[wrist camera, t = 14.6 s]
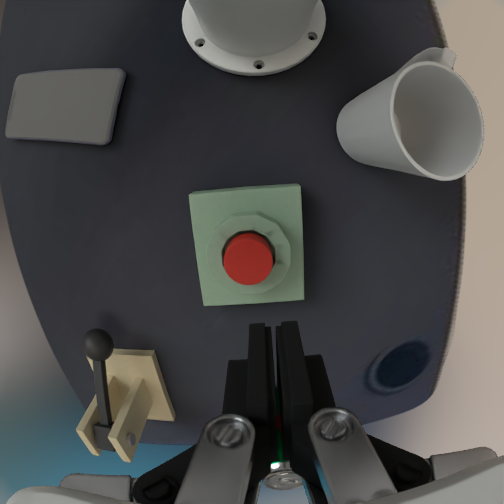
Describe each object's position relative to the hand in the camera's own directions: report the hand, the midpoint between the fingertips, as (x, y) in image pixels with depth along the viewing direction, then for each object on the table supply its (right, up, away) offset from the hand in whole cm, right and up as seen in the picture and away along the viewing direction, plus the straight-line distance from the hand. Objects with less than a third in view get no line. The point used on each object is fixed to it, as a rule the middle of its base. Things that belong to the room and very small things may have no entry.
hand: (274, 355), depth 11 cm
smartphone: (-20, +19, +13) cm, 30 cm away
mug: (+10, +16, +13) cm, 23 cm away
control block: (-1, +5, +17) cm, 17 cm away
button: (-1, +3, +13) cm, 14 cm away
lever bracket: (-16, -13, +23) cm, 30 cm away
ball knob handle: (-16, -11, +17) cm, 26 cm away
